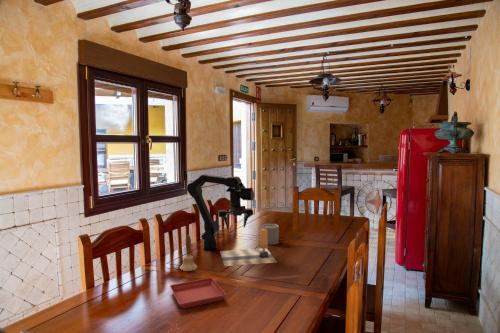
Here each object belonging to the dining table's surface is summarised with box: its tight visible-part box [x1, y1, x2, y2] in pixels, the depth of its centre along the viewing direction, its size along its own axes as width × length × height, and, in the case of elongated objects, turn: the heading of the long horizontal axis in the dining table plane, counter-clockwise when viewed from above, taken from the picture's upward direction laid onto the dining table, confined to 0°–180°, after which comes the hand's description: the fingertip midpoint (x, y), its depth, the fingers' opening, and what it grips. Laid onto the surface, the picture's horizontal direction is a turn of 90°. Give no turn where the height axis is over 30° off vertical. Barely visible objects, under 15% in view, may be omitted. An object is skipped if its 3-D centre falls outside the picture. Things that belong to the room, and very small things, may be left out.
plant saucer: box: [169, 277, 227, 309], centre depth 137 cm, size 18×18×3 cm
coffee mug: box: [261, 223, 280, 246], centre depth 210 cm, size 13×10×10 cm
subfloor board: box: [219, 247, 278, 267], centre depth 181 cm, size 26×23×1 cm
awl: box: [259, 228, 268, 258], centre depth 180 cm, size 5×5×14 cm
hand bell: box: [179, 234, 198, 272], centre depth 167 cm, size 8×8×16 cm
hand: (235, 228), depth 191 cm, fingers open, 9 cm apart
